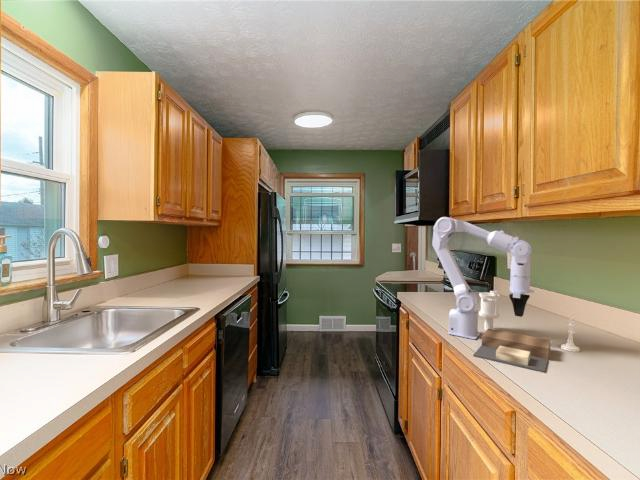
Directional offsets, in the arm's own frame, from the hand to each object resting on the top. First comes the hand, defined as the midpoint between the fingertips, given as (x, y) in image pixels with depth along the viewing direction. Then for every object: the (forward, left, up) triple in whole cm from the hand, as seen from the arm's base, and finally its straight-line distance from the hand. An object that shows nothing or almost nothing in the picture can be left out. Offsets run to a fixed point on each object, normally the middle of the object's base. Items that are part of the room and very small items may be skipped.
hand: (518, 315), depth 111 cm
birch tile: (+1, -18, -7) cm, 19 cm away
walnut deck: (0, -6, -9) cm, 11 cm away
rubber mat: (0, -17, -9) cm, 19 cm away
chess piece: (+14, +5, -10) cm, 18 cm away
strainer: (-11, +10, -10) cm, 18 cm away
